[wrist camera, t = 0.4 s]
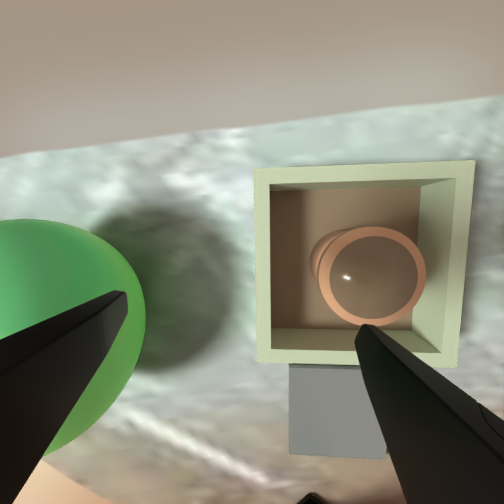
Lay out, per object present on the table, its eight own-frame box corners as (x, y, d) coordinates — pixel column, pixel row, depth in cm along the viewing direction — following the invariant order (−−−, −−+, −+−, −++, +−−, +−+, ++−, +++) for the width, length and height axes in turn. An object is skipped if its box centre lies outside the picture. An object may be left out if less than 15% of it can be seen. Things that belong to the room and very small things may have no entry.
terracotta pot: (393, 257, 22) (450, 272, 15) (344, 309, 23) (376, 346, 16) (338, 211, 22) (369, 205, 15) (290, 266, 23) (299, 284, 16)
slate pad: (383, 454, 25) (385, 459, 24) (288, 448, 26) (289, 454, 25) (387, 366, 24) (390, 370, 23) (288, 364, 24) (289, 367, 24)
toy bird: (150, 396, 26) (2, 612, 12) (13, 353, 27) (-288, 505, 12) (187, 244, 24) (56, 275, 9) (35, 200, 24) (-310, 165, 10)
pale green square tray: (420, 339, 23) (456, 367, 19) (259, 336, 24) (257, 362, 20) (432, 173, 21) (475, 159, 17) (256, 179, 22) (253, 168, 18)
